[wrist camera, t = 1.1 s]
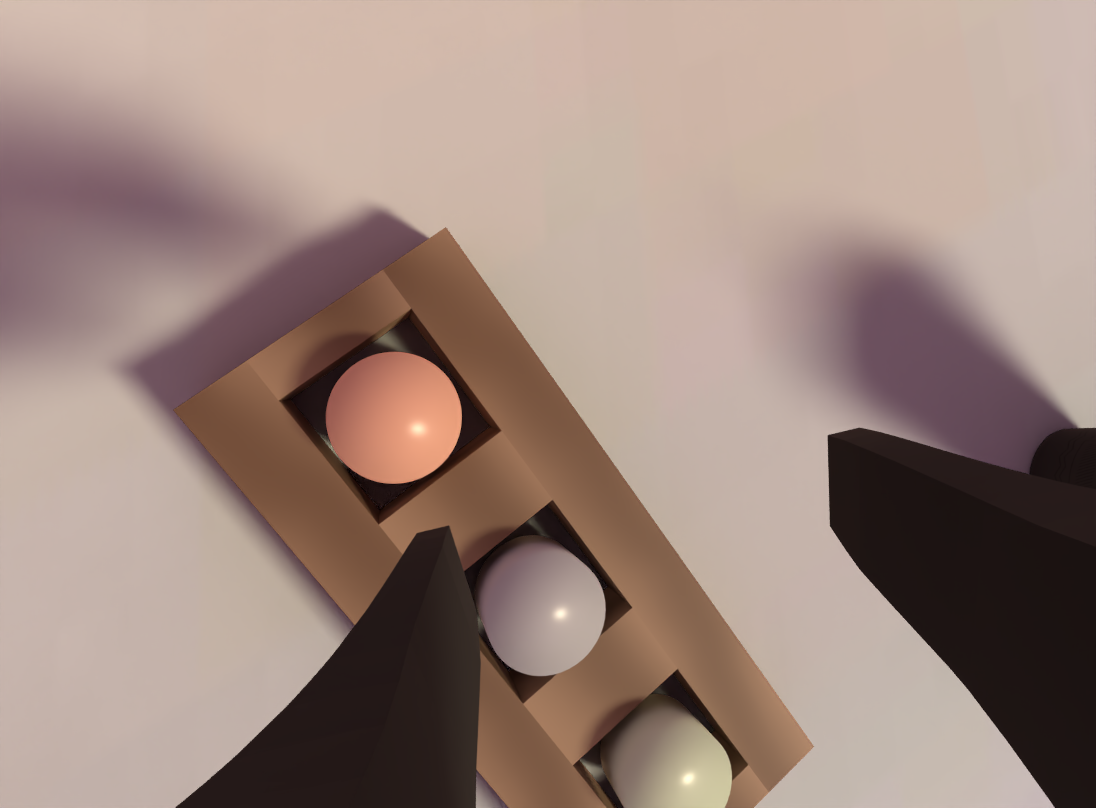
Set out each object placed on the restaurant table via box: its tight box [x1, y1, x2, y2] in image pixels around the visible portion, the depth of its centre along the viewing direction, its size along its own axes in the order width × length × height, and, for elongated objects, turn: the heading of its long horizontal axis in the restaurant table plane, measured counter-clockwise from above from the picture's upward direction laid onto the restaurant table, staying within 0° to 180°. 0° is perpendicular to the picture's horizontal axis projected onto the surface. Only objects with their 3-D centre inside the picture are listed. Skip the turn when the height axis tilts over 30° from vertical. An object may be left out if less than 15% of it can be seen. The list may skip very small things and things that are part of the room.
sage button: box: [600, 694, 732, 808], centre depth 23 cm, size 4×4×3 cm
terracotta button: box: [326, 352, 462, 484], centre depth 20 cm, size 4×4×3 cm
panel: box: [174, 228, 814, 808], centre depth 23 cm, size 10×24×2 cm, turn 37°
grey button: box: [475, 535, 606, 676], centre depth 21 cm, size 4×4×3 cm
